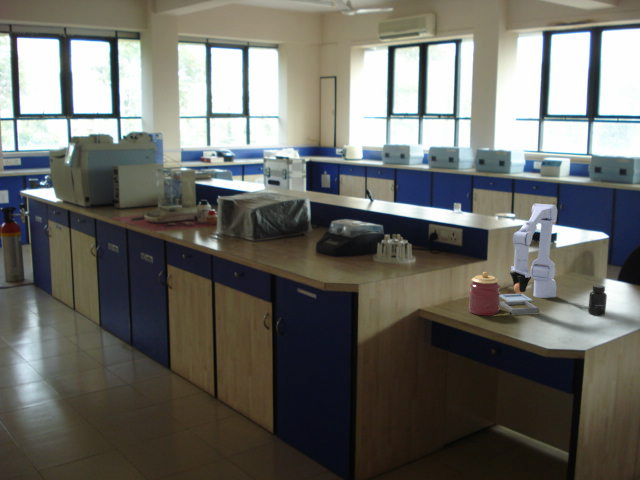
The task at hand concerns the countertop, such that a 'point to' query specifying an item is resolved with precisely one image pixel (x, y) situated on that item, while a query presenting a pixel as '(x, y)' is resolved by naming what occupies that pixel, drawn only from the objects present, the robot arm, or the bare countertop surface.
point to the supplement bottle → (597, 300)
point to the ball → (517, 289)
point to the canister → (484, 295)
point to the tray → (520, 310)
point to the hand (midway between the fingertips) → (519, 290)
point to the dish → (516, 297)
